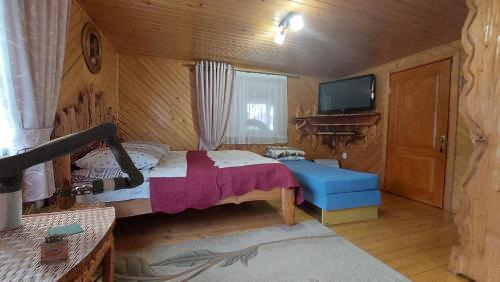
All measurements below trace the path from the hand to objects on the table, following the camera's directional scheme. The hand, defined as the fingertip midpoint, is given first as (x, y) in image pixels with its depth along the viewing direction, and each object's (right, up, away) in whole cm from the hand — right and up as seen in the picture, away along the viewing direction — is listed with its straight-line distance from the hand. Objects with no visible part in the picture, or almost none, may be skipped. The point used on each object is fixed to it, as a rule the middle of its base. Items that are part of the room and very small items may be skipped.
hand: (58, 192), depth 99 cm
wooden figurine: (+1, -8, +3) cm, 9 cm away
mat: (0, -18, +3) cm, 19 cm away
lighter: (+15, -21, -19) cm, 32 cm away
